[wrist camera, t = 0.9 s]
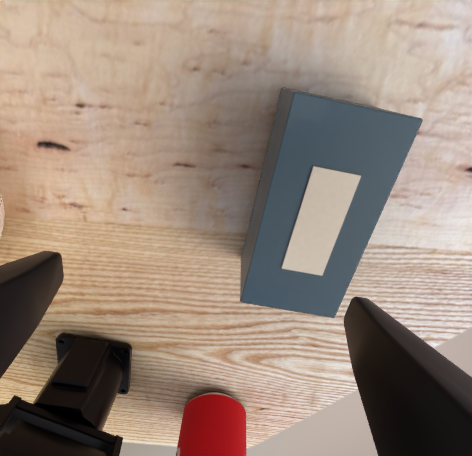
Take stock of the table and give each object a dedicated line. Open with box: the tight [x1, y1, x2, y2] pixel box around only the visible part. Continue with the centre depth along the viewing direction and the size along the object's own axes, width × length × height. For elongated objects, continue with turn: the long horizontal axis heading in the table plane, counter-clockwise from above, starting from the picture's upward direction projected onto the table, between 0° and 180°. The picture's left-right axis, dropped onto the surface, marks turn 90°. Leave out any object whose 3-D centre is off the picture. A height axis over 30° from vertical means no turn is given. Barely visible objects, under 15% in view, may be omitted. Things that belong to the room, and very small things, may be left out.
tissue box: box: [240, 88, 423, 318], centre depth 18 cm, size 12×6×5 cm, turn 169°
